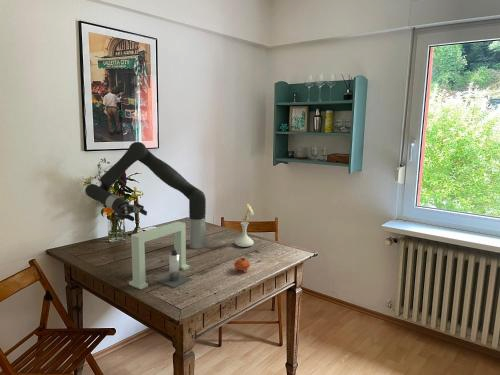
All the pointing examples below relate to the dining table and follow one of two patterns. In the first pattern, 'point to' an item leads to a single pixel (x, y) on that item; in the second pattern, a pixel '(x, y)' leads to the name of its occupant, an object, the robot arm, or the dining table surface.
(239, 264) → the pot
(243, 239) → the flower in vase
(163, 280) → the rubber mat
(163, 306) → the dining table surface
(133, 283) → the frame
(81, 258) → the dining table surface
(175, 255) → the plug peg
